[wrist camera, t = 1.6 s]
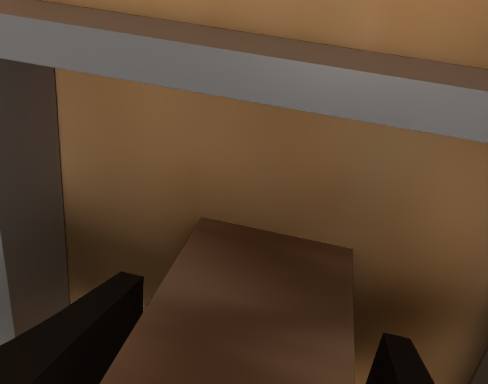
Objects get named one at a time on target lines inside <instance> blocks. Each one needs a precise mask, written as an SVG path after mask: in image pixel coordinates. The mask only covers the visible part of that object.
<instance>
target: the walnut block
mask: <svg viewBox="0 0 488 384" xmlns="http://www.w3.org/2000/svg"><path fill="white" fill-rule="evenodd" d="M100 384H355V356H354V299H353V249H349V248H345V247H340V246H335V245H330V244H326V243H321V242H316V241H311V240H307V239H302V238H297V237H292V236H288V235H283V234H278V233H273V232H269V231H264V230H259V229H255V228H250V227H245V226H240V225H236V224H231V223H226V222H221V221H217V220H212V219H207V218H202V217H201V219H200V221H199V222H198V224H197V226H196V227H195V229H194V231H193V232H192V234H191V235H190V237H189V239H188V240H187V242H186V244H185V245H184V247H183V248H182V250H181V252H180V253H179V255H178V257H177V258H176V260H175V262H174V263H173V265H172V266H171V268H170V270H169V271H168V273H167V275H166V276H165V278H164V279H163V281H162V283H161V284H160V286H159V288H158V289H157V291H156V293H155V294H154V296H153V297H152V299H151V301H150V302H149V304H148V306H147V307H146V309H145V310H144V312H143V314H142V315H141V317H140V319H139V320H138V322H137V324H136V325H135V327H134V328H133V330H132V332H131V333H130V335H129V337H128V338H127V340H126V341H125V343H124V345H123V346H122V348H121V350H120V351H119V353H118V355H117V356H116V358H115V359H114V361H113V363H112V364H111V366H110V368H109V369H108V371H107V373H106V374H105V376H104V377H103V379H102V381H101V382H100Z"/></svg>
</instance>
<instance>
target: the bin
mask: <svg viewBox="0 0 488 384" xmlns="http://www.w3.org/2000/svg"><path fill="white" fill-rule="evenodd" d="M54 68H60V69H65V70H71V71H77V72H83V73H88V74H94V75H100V76H105V77H111V78H117V79H123V80H128V81H134V82H140V83H146V84H151V85H157V86H163V87H169V88H174V89H180V90H186V91H191V92H197V93H203V94H209V95H214V96H220V97H226V98H232V99H237V100H243V101H249V102H255V103H260V104H266V105H272V106H277V107H283V108H289V109H295V110H300V111H306V112H312V113H318V114H323V115H329V116H335V117H341V118H346V119H352V120H358V121H363V122H369V123H375V124H381V125H386V126H392V127H398V128H404V129H409V130H415V131H421V132H427V133H432V134H438V135H444V136H449V137H455V138H461V139H467V140H472V141H478V142H484V143H488V70H486V69H480V68H473V67H467V66H461V65H454V64H448V63H441V62H435V61H428V60H422V59H415V58H409V57H402V56H396V55H389V54H383V53H376V52H370V51H363V50H357V49H350V48H344V47H337V46H331V45H324V44H318V43H312V42H305V41H299V40H292V39H286V38H279V37H273V36H266V35H260V34H253V33H247V32H240V31H234V30H227V29H221V28H214V27H208V26H201V25H195V24H188V23H182V22H175V21H169V20H163V19H156V18H150V17H143V16H137V15H130V14H124V13H117V12H111V11H104V10H98V9H91V8H85V7H78V6H72V5H65V4H59V3H52V2H46V1H39V0H0V345H2V344H4V343H6V342H8V341H10V340H12V339H13V338H15V337H17V336H19V335H20V334H22V333H24V332H26V331H27V330H29V329H31V328H33V327H34V326H36V325H38V324H40V323H41V322H43V321H45V320H46V319H48V318H50V317H51V316H53V315H54V314H56V313H58V312H59V311H61V310H62V309H64V308H66V307H67V306H69V305H70V303H69V288H68V273H67V258H66V243H65V227H64V212H63V197H62V182H61V167H60V151H59V136H58V121H57V106H56V91H55V75H54ZM471 384H488V349H487V351H486V353H485V355H484V357H483V359H482V361H481V363H480V365H479V367H478V369H477V371H476V374H475V376H474V378H473V380H472V382H471Z"/></svg>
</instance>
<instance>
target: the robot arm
mask: <svg viewBox="0 0 488 384" xmlns="http://www.w3.org/2000/svg"><path fill="white" fill-rule="evenodd" d="M143 283H144V277H142V276H138V275H134V274H129V273H125V272H120V273H118V274H117V275H115V276H113V277H112V278H110V279H109V280H107V281H106V282H104V283H103V284H101V285H99V286H98V287H96V288H95V289H93V290H92V291H90V292H89V293H87V294H86V295H84V296H83V297H81V298H80V299H78V300H77V301H75V302H74V303H72V304H70V305H69V306H67V307H66V308H64V309H62V310H61V311H59V312H58V313H56V314H54V315H53V316H51V317H50V318H48V319H46V320H45V321H43V322H41V323H40V324H38V325H36V326H34V327H33V328H31V329H29V330H27V331H26V332H24V333H22V334H20V335H19V336H17V337H15V338H13V339H12V340H10V341H8V342H6V343H4V344H2V345H0V384H100V382H101V381H102V379H103V377H104V376H105V374H106V373H107V371H108V369H109V368H110V366H111V364H112V363H113V361H114V359H115V358H116V356H117V355H118V353H119V351H120V350H121V348H122V346H123V345H124V343H125V341H126V340H127V338H128V337H129V335H130V333H131V332H132V330H133V328H134V327H135V325H136V324H137V322H138V320H139V319H140V317H141V315H142V314H143ZM366 384H435V383H434V381H433V380H432V378H431V376H430V374H429V372H428V371H427V369H426V367H425V365H424V363H423V361H422V360H421V358H420V356H419V354H418V352H417V350H416V348H415V347H414V345H413V343H412V341H411V340H410V339H409V338H404V337H400V336H396V335H392V334H387V333H383V335H382V338H381V341H380V343H379V346H378V349H377V352H376V355H375V358H374V361H373V364H372V367H371V370H370V373H369V376H368V379H367V382H366Z"/></svg>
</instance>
